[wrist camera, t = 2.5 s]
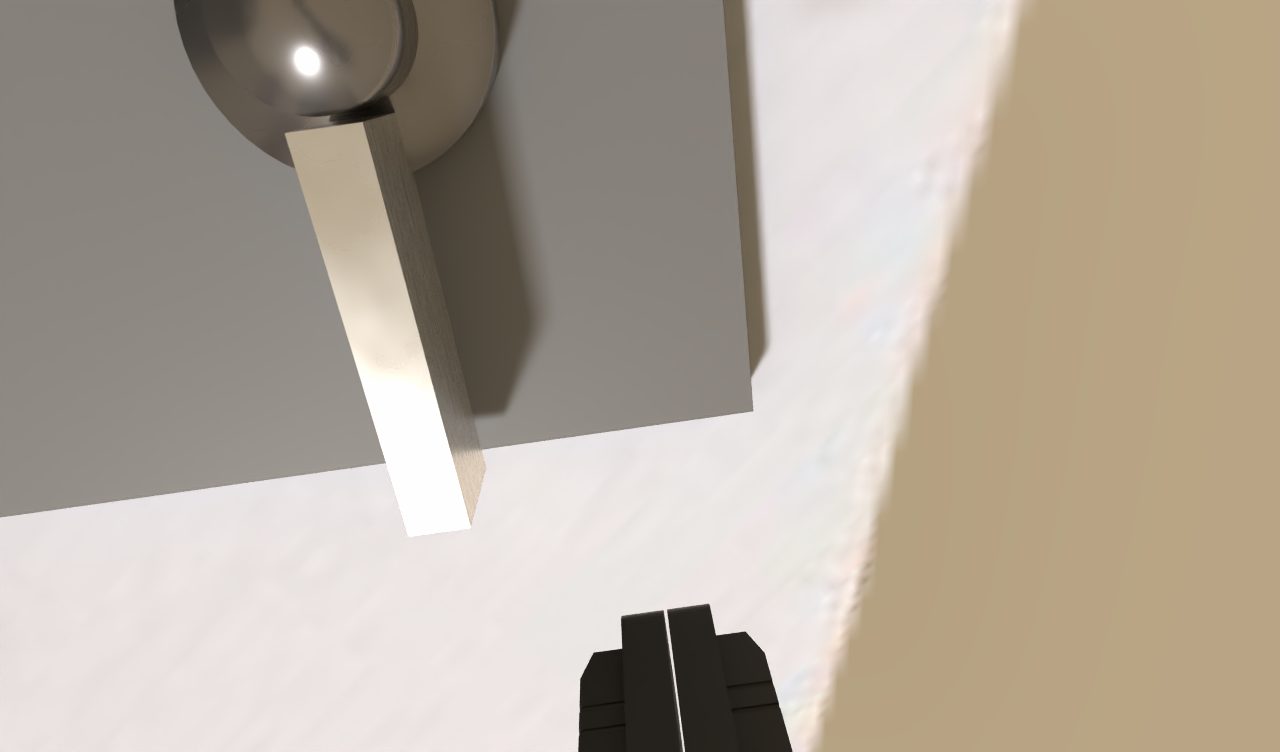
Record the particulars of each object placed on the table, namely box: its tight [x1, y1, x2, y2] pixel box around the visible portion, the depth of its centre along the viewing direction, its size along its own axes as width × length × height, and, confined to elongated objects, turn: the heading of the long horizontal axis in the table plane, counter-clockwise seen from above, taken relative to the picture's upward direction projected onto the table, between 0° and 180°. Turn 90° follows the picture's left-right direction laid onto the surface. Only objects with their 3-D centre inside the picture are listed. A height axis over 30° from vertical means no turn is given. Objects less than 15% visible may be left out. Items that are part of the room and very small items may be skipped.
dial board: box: [0, 0, 753, 517], centre depth 19 cm, size 24×24×2 cm
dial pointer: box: [173, 0, 500, 536], centre depth 18 cm, size 16×7×4 cm, turn 7°
